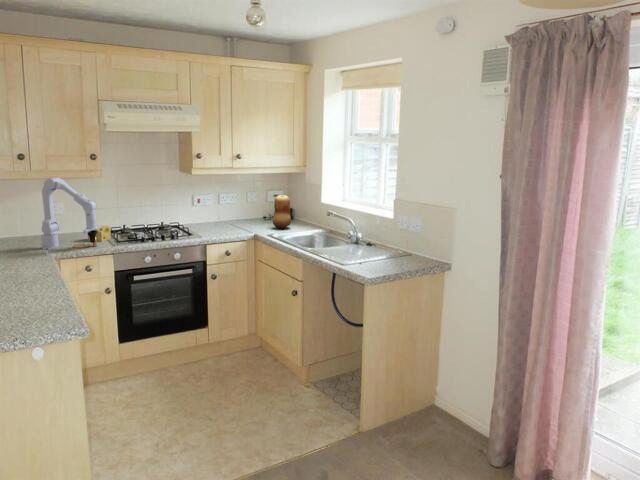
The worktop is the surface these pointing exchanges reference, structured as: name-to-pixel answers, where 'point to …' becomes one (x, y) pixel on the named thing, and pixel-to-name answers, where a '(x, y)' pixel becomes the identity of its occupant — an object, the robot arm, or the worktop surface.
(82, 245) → the cam capstan
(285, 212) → the butternut squash
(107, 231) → the cheese
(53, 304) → the worktop surface
